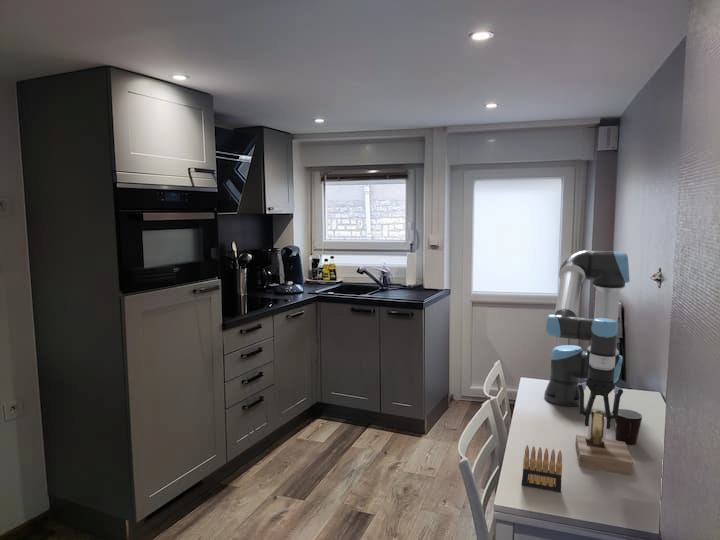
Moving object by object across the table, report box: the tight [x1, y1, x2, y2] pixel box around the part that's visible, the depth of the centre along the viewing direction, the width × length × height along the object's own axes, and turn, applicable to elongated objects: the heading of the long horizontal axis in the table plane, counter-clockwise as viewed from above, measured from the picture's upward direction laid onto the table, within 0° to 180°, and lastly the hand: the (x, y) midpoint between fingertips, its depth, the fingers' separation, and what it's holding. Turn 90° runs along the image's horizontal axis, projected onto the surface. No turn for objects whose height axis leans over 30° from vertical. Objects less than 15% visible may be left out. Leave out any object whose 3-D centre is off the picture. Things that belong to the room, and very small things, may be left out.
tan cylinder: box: [589, 409, 605, 444], centre depth 166 cm, size 4×4×10 cm
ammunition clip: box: [521, 444, 563, 494], centre depth 146 cm, size 11×2×12 cm, turn 71°
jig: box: [574, 434, 634, 476], centre depth 164 cm, size 15×15×4 cm
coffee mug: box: [614, 408, 643, 446], centre depth 177 cm, size 12×9×10 cm
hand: (596, 436), depth 167 cm, fingers closed on tan cylinder, 4 cm apart
